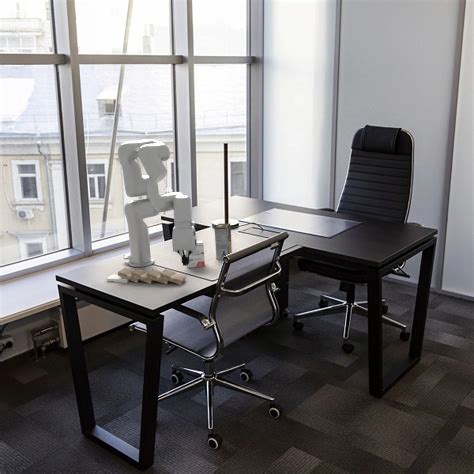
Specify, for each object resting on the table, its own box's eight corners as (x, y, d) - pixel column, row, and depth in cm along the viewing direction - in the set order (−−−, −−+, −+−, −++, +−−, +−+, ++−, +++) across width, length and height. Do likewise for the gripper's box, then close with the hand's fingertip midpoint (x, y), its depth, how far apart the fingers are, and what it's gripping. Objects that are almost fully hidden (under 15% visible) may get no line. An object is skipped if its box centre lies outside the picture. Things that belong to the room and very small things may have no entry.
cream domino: (127, 283, 265) (107, 282, 268) (132, 279, 271) (113, 278, 273) (126, 279, 265) (106, 278, 267) (132, 275, 270) (112, 274, 273)
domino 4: (180, 284, 259) (159, 277, 260) (185, 280, 264) (164, 272, 266) (181, 280, 258) (160, 273, 260) (186, 276, 264) (165, 268, 265)
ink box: (204, 263, 287) (203, 239, 284) (204, 266, 282) (203, 242, 279) (186, 264, 286) (185, 241, 283) (186, 267, 281) (185, 244, 278)
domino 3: (166, 284, 260) (146, 277, 262) (171, 279, 266) (151, 272, 267) (167, 280, 260) (146, 273, 261) (172, 275, 265) (151, 268, 267)
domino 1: (137, 282, 264) (117, 275, 266) (143, 278, 269) (124, 271, 272) (137, 278, 263) (118, 271, 266) (144, 274, 269) (125, 267, 271)
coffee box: (219, 253, 301) (218, 223, 296) (232, 254, 299) (230, 223, 295) (216, 259, 292) (214, 228, 287) (228, 259, 291) (227, 228, 286)
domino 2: (150, 284, 262) (130, 276, 264) (156, 279, 267) (136, 271, 269) (151, 280, 261) (131, 272, 263) (157, 275, 266) (137, 267, 268)
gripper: (202, 222, 255) (204, 262, 260) (169, 221, 259) (172, 261, 264) (197, 227, 248) (199, 268, 253) (163, 225, 252) (166, 266, 257)
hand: (185, 264), depth 259 cm, fingers closed
